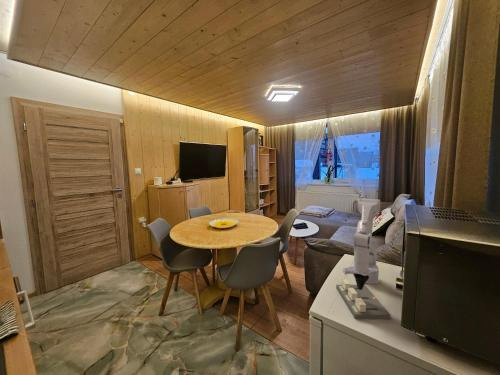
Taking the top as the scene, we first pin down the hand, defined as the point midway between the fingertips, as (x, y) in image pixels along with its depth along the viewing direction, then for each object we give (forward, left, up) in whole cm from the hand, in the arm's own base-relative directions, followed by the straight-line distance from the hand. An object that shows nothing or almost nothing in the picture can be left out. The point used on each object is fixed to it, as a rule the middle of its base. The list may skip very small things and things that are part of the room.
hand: (359, 288), depth 92 cm
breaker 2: (+3, +7, -4) cm, 9 cm away
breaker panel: (0, 0, -7) cm, 7 cm away
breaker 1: (+3, -7, -4) cm, 9 cm away
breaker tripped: (+3, 0, -4) cm, 5 cm away
